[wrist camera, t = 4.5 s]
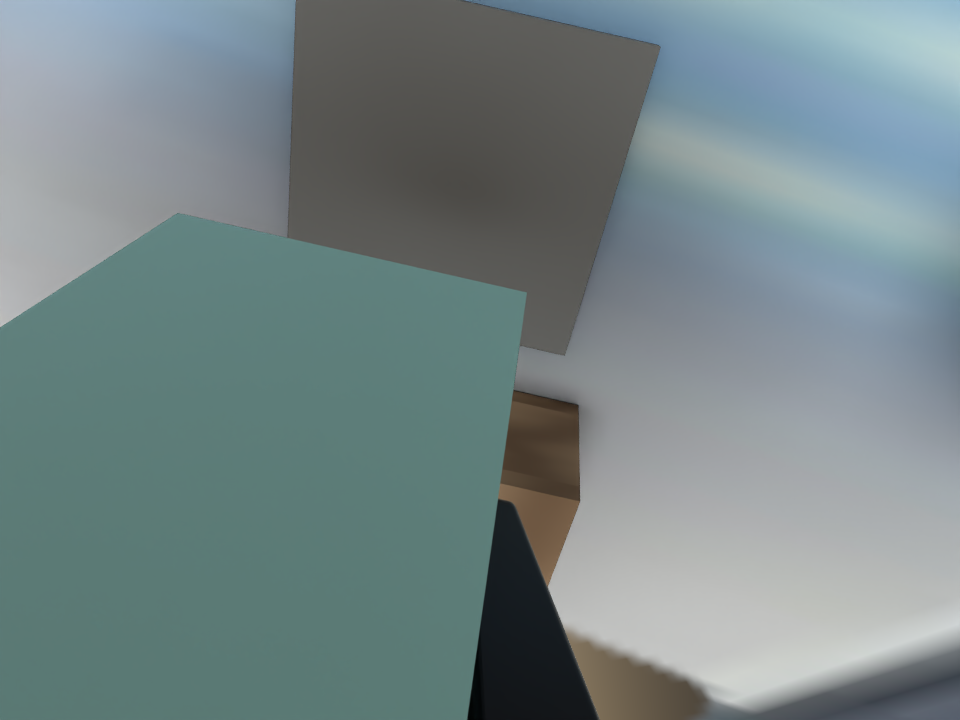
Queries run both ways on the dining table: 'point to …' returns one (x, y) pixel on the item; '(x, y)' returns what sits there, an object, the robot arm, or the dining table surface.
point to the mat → (463, 143)
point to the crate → (542, 472)
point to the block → (250, 483)
